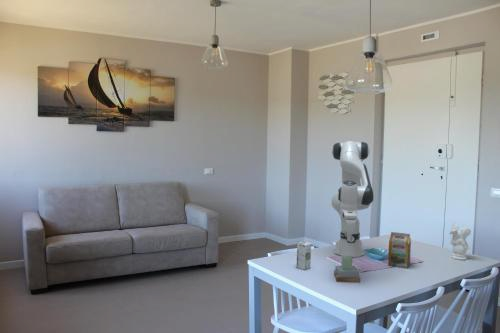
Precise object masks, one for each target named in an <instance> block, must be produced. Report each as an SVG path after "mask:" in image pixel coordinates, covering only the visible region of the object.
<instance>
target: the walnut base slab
mask: <svg viewBox="0 0 500 333" xmlns="http://www.w3.org/2000/svg"><path fill="white" fill-rule="evenodd" d="M333 276H334V279H335V281H336V282H337V283H355V284H356V283H358V284H360V283H361V277H360V276H359V277H340V276H339V275H338V274H337V273H336V271H335V269H334V270H333Z"/></svg>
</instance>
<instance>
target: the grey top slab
mask: <svg viewBox="0 0 500 333" xmlns="http://www.w3.org/2000/svg"><path fill="white" fill-rule="evenodd" d="M334 270H335V271H336V273H337V274H338V275H339V276H340V277H360V270H359V269H358V268H357V267H356V266H355V265H352V270H342V267H341V265H335V269H334Z"/></svg>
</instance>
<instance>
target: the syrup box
mask: <svg viewBox="0 0 500 333" xmlns="http://www.w3.org/2000/svg"><path fill="white" fill-rule="evenodd" d="M296 249H297V250H296V269H300V270H308V269H310V268H311V261H312V260H311V259H312V257H311V256H312V255H311V254H312V243H311V242H309V241H300V242H297V246H296Z"/></svg>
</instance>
